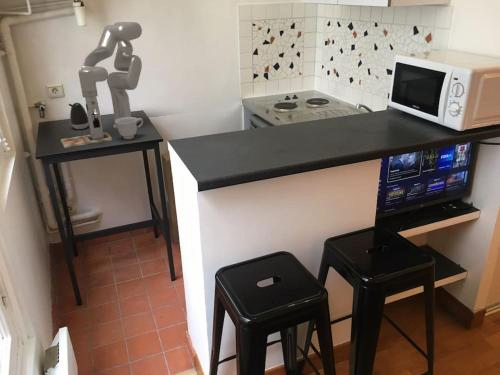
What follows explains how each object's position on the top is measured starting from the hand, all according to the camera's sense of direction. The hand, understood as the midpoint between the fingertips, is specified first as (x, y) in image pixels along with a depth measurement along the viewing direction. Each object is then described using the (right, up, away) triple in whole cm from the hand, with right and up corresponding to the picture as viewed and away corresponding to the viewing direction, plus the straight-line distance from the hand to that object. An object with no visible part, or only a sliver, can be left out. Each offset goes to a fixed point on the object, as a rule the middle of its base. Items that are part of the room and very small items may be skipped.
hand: (95, 125), depth 226 cm
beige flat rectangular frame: (-5, -8, +1) cm, 10 cm away
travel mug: (0, -7, +4) cm, 8 cm away
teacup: (+18, -6, +5) cm, 20 cm away
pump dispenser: (-17, +2, +23) cm, 29 cm away
